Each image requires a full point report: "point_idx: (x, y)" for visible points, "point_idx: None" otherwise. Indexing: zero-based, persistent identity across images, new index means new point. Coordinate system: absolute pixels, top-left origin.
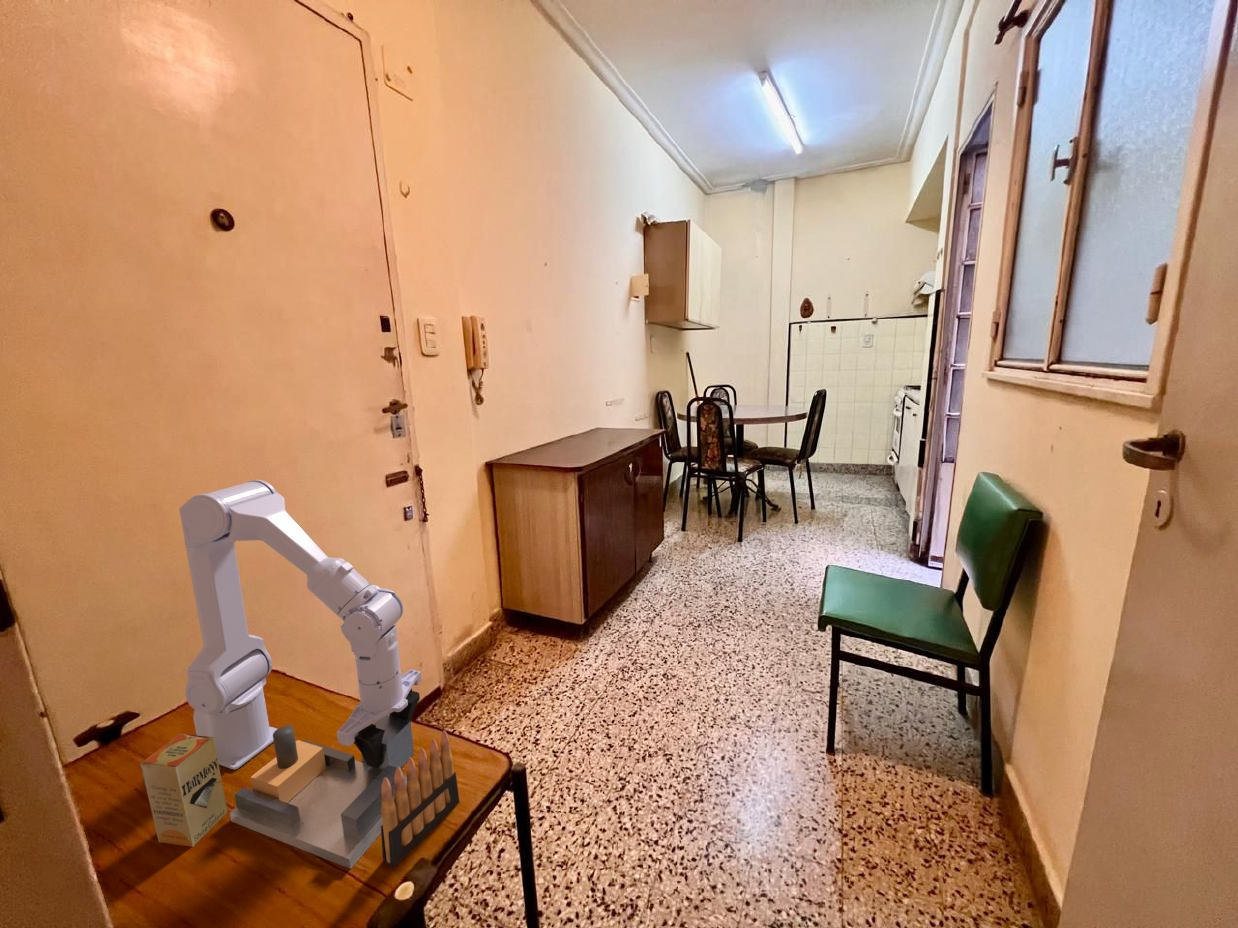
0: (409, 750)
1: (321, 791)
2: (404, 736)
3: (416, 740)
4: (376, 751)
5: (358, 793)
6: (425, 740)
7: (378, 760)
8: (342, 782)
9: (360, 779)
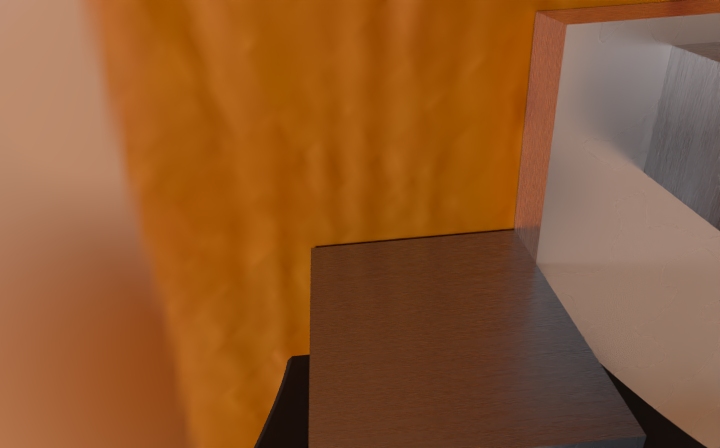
0: (349, 277)
1: (708, 433)
2: (401, 381)
3: (220, 307)
4: (688, 440)
5: (713, 291)
6: (191, 264)
7: (602, 366)
8: (648, 402)
9: (620, 349)
